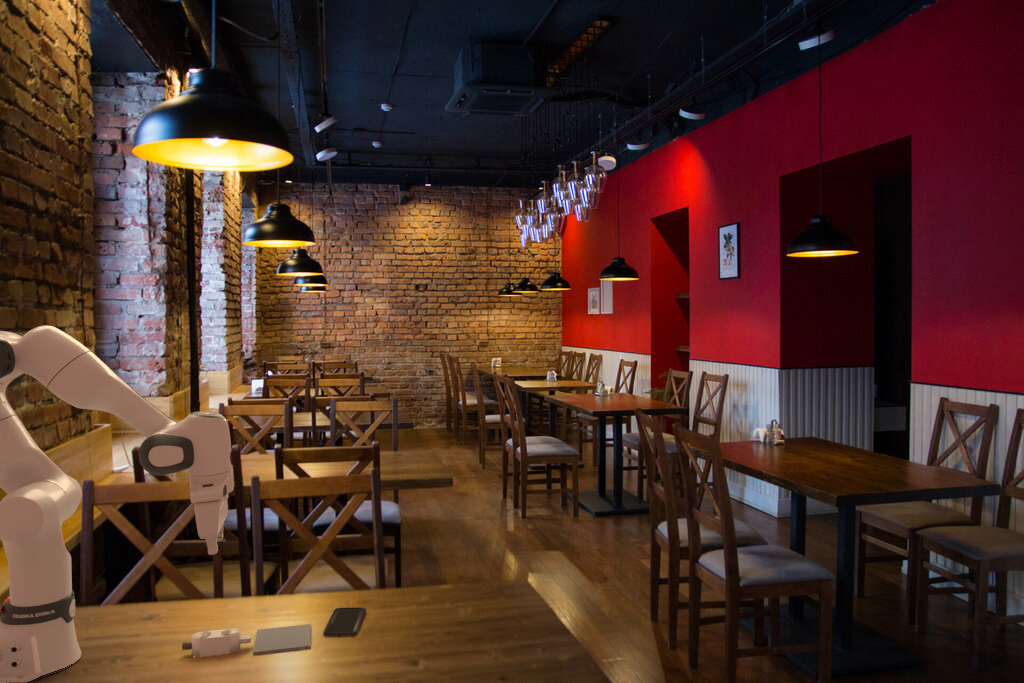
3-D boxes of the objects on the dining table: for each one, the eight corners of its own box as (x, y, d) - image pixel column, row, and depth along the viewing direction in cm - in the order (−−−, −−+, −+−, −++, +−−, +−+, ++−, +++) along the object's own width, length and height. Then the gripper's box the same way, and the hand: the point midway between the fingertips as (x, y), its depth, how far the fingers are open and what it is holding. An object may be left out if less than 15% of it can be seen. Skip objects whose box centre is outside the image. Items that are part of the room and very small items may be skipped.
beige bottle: (181, 659, 154) (180, 641, 154) (184, 651, 158) (184, 633, 158) (250, 651, 158) (250, 633, 158) (251, 643, 162) (251, 626, 161)
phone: (366, 607, 180) (356, 632, 165) (366, 611, 180) (356, 637, 165) (335, 607, 180) (321, 633, 165) (334, 612, 180) (321, 638, 165)
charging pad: (253, 654, 156) (253, 652, 156) (257, 632, 168) (257, 629, 167) (310, 648, 159) (310, 645, 159) (310, 626, 171) (310, 623, 171)
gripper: (203, 476, 166) (207, 535, 167) (188, 497, 147) (193, 563, 147) (232, 473, 168) (236, 531, 169) (221, 493, 148) (225, 559, 149)
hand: (216, 546), depth 158 cm, fingers open, 8 cm apart
